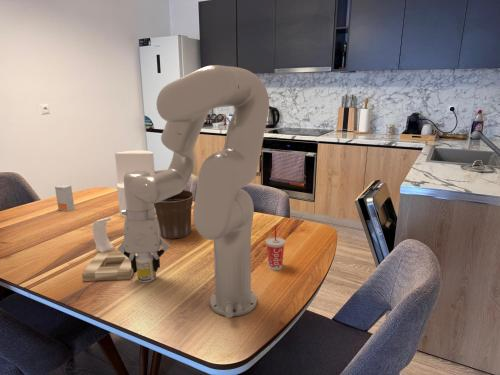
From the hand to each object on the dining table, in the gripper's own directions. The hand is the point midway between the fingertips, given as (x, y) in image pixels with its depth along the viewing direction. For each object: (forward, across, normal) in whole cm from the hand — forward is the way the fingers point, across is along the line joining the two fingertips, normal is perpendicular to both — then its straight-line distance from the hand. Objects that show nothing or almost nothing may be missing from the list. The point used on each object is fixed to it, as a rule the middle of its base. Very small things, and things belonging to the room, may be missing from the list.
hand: (146, 269), depth 106 cm
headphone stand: (+3, -20, +23) cm, 31 cm away
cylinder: (+3, -17, +64) cm, 66 cm away
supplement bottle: (+3, 0, 0) cm, 3 cm away
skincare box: (+3, -53, +70) cm, 88 cm away
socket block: (+3, -12, +7) cm, 14 cm away
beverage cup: (+3, +40, +4) cm, 40 cm away
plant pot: (+3, +4, +35) cm, 35 cm away
